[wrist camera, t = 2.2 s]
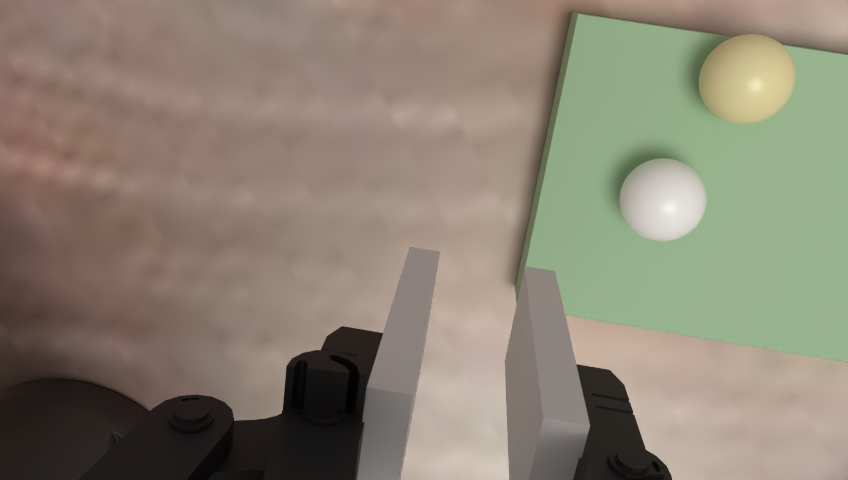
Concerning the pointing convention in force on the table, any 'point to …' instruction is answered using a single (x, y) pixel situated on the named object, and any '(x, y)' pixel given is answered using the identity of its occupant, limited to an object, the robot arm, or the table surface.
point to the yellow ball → (747, 79)
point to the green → (725, 188)
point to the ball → (663, 199)
